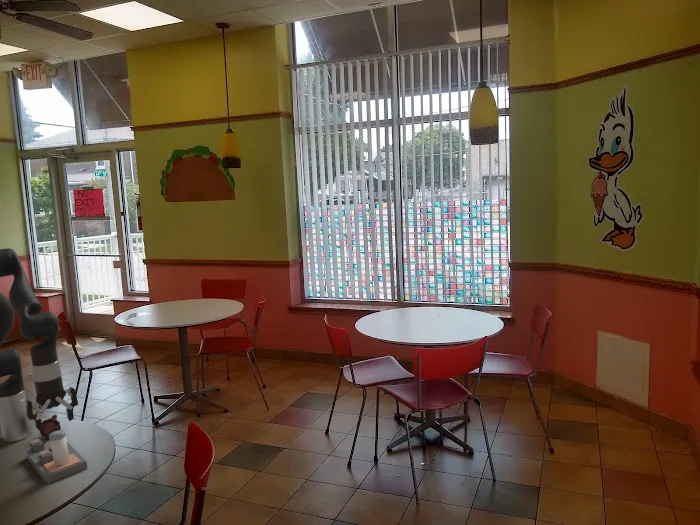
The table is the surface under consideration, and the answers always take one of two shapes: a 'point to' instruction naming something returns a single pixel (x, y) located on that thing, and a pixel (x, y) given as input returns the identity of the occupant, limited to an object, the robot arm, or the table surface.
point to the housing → (47, 464)
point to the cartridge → (59, 447)
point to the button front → (45, 453)
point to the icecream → (50, 426)
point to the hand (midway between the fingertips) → (55, 424)
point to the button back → (35, 442)
